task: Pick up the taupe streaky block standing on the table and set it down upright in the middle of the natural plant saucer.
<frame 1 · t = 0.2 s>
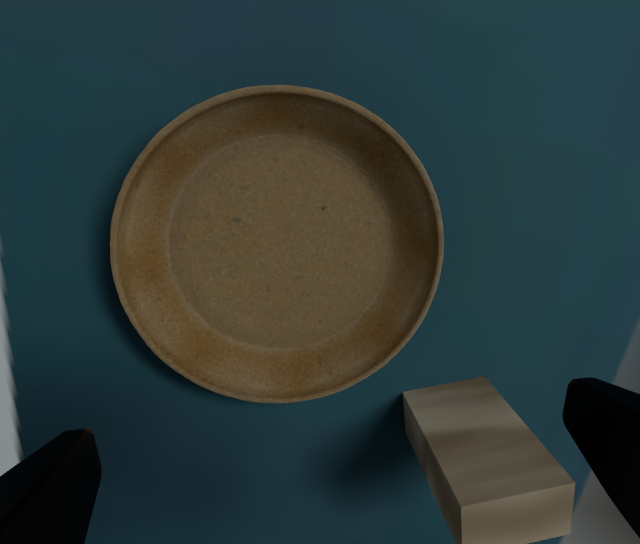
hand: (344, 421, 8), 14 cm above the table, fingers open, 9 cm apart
taupe streaky block: (444, 405, 26), on the table
plant saucer: (281, 246, 22), on the table
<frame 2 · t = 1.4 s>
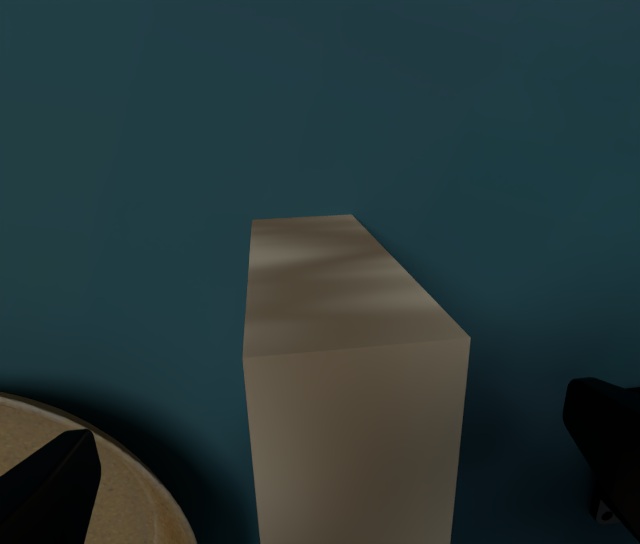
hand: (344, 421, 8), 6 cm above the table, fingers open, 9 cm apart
taupe streaky block: (305, 294, 14), on the table
plant saucer: (2, 518, 16), on the table
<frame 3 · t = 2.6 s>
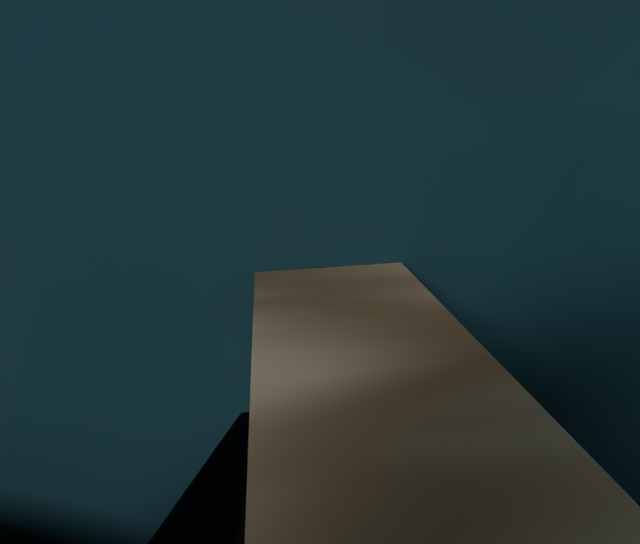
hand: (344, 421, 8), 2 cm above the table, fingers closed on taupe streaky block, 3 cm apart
taupe streaky block: (331, 373, 10), on the table, touching gripper
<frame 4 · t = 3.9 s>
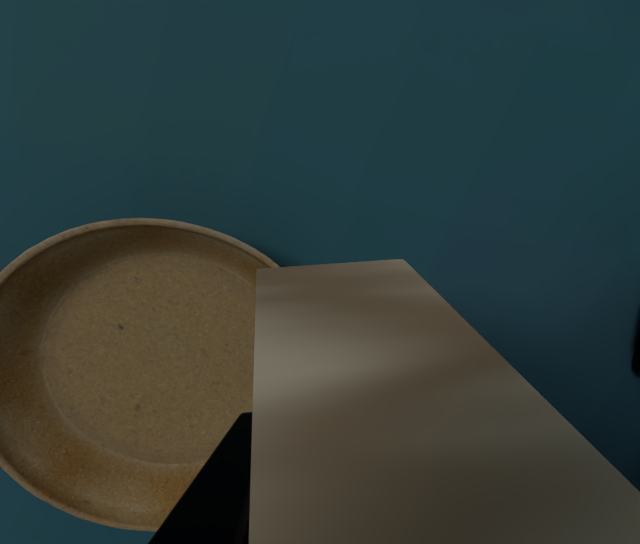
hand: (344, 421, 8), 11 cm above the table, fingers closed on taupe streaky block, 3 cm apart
taupe streaky block: (333, 370, 10), point 10 cm above the table, touching gripper
plant saucer: (173, 361, 20), on the table
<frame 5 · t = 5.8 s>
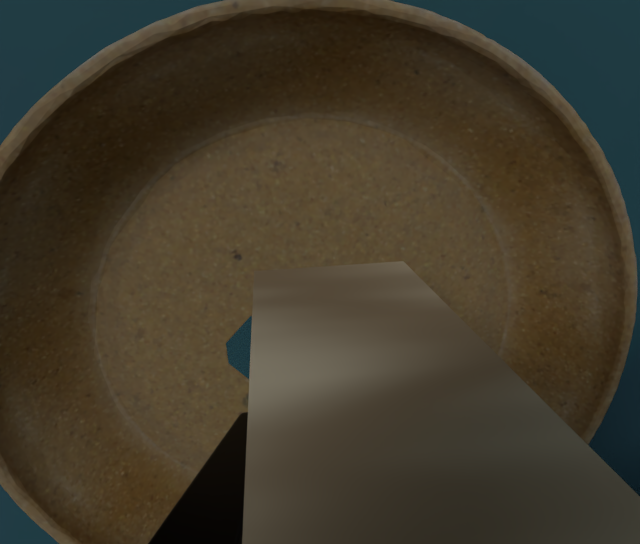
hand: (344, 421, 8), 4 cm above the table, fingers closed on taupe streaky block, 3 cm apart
taupe streaky block: (332, 374, 10), point 2 cm above the table, touching gripper, plant saucer
plant saucer: (308, 324, 12), on the table, touching taupe streaky block
when the fingers open (4 cm above the table, at t = 5.8 s): taupe streaky block stays where it is, resting on plant saucer.
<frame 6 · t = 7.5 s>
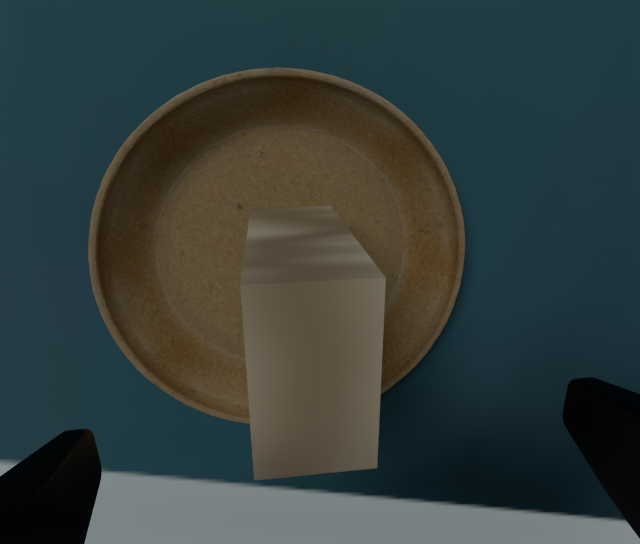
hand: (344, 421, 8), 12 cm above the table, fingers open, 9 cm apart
taupe streaky block: (292, 269, 17), point 2 cm above the table, touching plant saucer
plant saucer: (283, 252, 20), on the table, touching taupe streaky block
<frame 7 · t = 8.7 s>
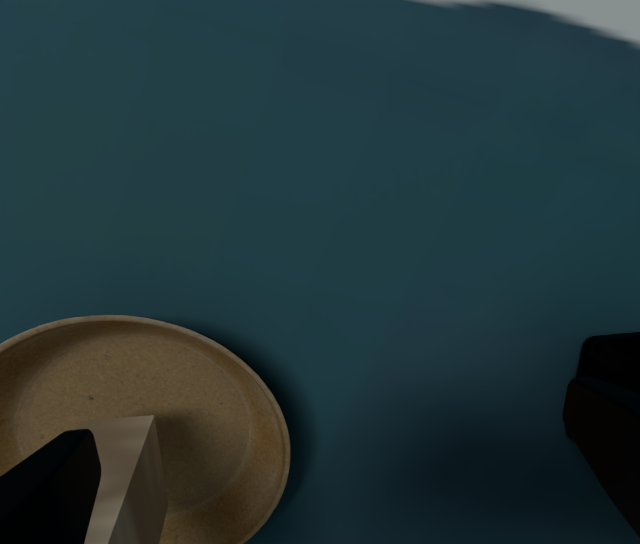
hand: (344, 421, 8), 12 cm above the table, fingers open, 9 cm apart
taupe streaky block: (126, 465, 19), point 2 cm above the table, touching plant saucer
plant saucer: (140, 426, 22), on the table, touching taupe streaky block
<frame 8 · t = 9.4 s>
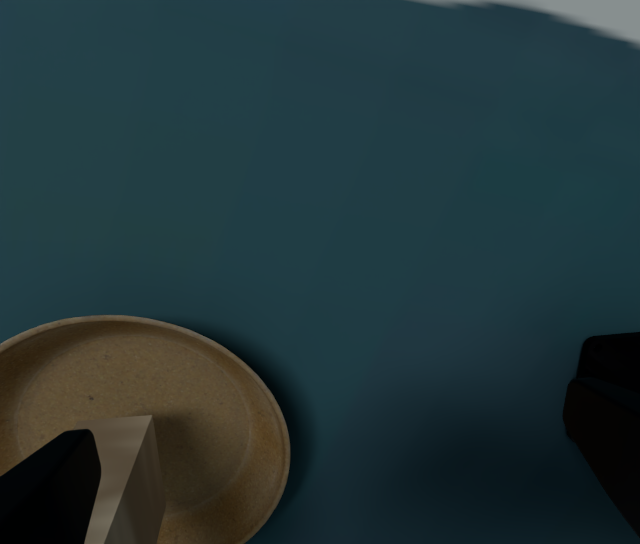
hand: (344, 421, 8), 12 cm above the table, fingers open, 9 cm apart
taupe streaky block: (124, 465, 19), point 2 cm above the table, touching plant saucer
plant saucer: (140, 426, 22), on the table, touching taupe streaky block
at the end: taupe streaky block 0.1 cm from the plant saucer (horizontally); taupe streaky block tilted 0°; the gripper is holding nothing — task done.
